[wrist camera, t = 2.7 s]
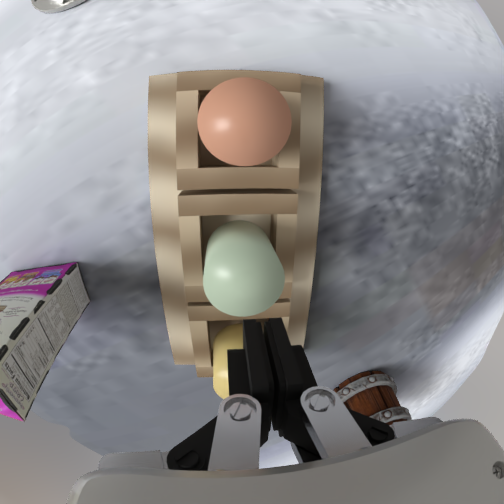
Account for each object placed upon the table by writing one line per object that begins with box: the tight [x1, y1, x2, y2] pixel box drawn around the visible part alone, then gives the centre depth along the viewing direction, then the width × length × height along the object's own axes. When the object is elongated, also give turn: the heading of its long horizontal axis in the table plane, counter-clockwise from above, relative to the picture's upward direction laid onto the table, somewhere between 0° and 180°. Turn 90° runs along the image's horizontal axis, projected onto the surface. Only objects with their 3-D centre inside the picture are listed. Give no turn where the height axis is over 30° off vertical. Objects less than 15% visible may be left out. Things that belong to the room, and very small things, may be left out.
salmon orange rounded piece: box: [197, 77, 292, 166], centre depth 15 cm, size 5×5×5 cm
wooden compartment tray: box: [148, 70, 324, 377], centre depth 22 cm, size 28×14×4 cm, turn 179°
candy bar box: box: [0, 262, 90, 422], centre depth 16 cm, size 11×5×16 cm, turn 95°
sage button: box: [203, 220, 285, 317], centre depth 18 cm, size 5×5×5 cm
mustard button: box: [213, 323, 243, 399], centre depth 22 cm, size 5×5×5 cm
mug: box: [333, 371, 411, 425], centre depth 30 cm, size 12×14×15 cm
